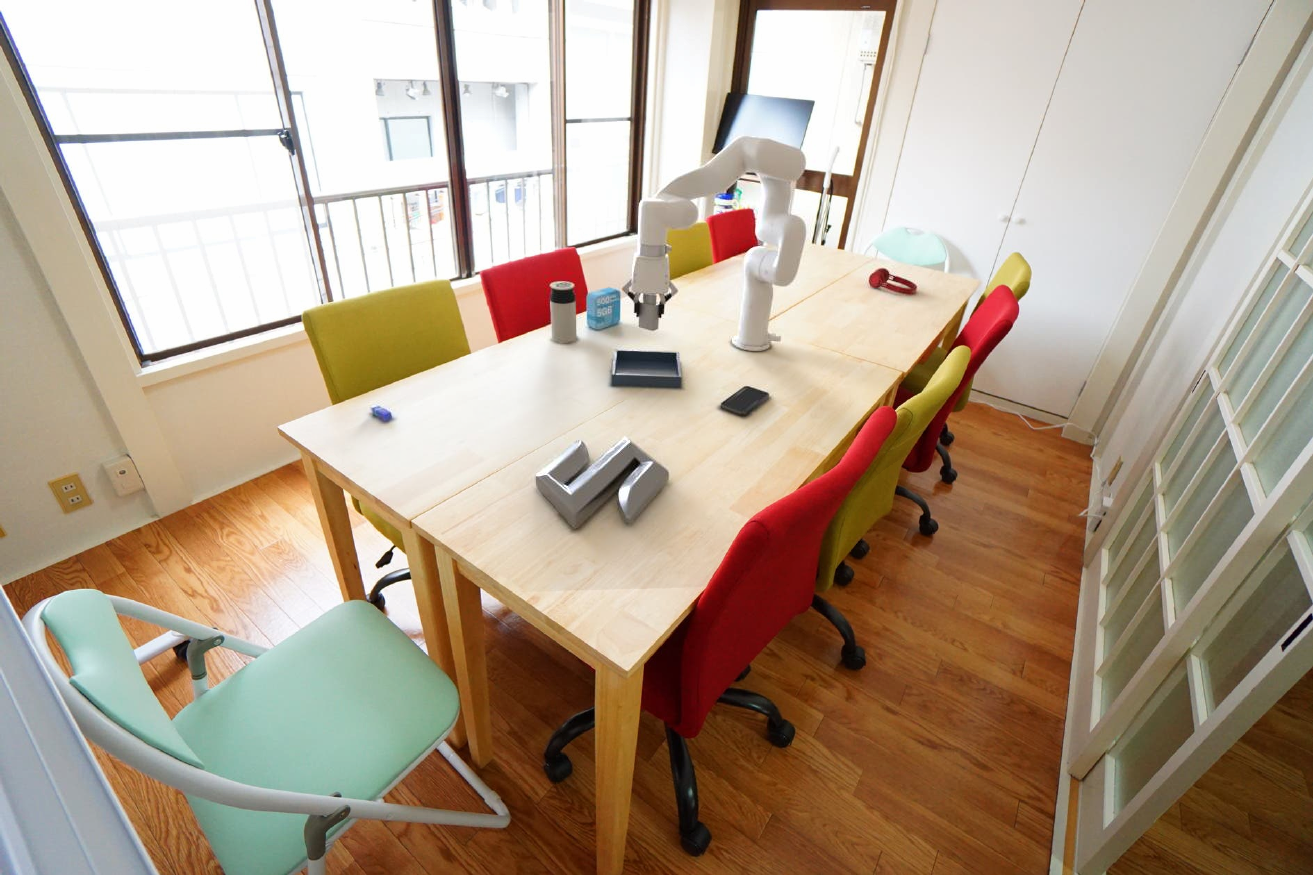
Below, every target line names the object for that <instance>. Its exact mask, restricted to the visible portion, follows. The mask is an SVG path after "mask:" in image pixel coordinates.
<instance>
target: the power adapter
mask: <svg viewBox="0 0 1313 875" xmlns="http://www.w3.org/2000/svg"><path fill="white" fill-rule="evenodd" d="M657 295H658V294H646V293H642V300H639V317H638V324H637V326H638V328H641V329H644V330H646V331H647V330H648V331H650V332H651V331H652V332H654V331H657V330H658V329H659V322H660V318H659V302H657V298H658V296H657Z"/></svg>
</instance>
